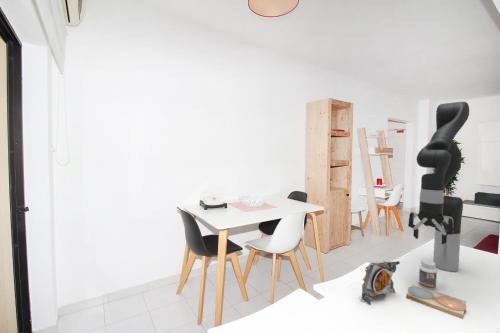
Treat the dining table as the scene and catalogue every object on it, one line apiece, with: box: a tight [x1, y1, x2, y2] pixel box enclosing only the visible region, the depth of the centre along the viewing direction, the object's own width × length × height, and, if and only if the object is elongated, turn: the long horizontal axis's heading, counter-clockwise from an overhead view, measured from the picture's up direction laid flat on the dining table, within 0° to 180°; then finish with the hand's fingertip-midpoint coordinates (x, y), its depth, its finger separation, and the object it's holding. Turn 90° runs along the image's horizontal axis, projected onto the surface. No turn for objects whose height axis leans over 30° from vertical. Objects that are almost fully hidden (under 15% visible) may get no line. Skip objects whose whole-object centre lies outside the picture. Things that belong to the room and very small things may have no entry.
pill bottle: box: [418, 259, 438, 290], centre depth 99 cm, size 6×6×10 cm
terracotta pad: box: [437, 295, 467, 312], centre depth 86 cm, size 8×8×1 cm
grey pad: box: [407, 285, 434, 299], centre depth 93 cm, size 8×8×1 cm
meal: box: [361, 260, 401, 306], centre depth 92 cm, size 15×4×13 cm, turn 115°
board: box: [405, 283, 467, 319], centre depth 89 cm, size 10×16×1 cm, turn 45°
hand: (429, 240), depth 98 cm, fingers open, 8 cm apart
